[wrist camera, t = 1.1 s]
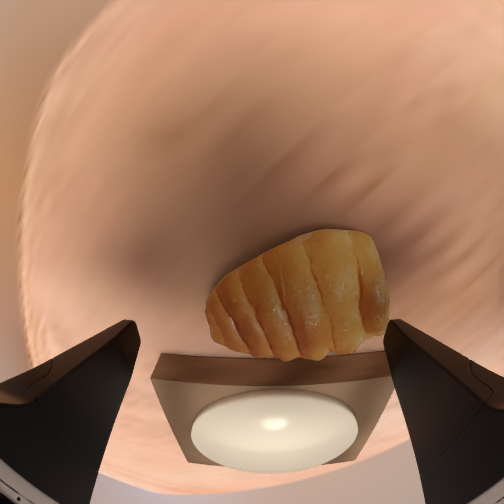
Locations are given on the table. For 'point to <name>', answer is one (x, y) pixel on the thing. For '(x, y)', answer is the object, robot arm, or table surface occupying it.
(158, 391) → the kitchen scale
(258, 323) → the pastry
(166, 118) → the table surface
